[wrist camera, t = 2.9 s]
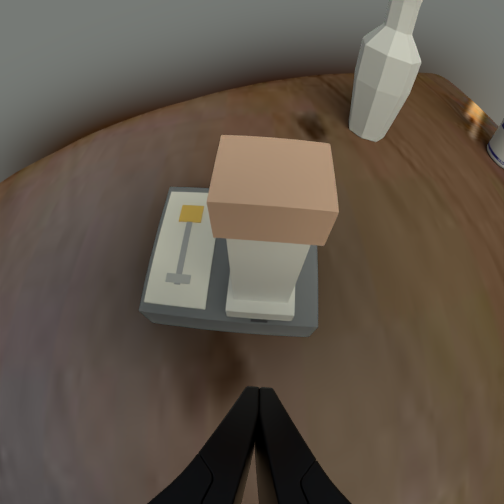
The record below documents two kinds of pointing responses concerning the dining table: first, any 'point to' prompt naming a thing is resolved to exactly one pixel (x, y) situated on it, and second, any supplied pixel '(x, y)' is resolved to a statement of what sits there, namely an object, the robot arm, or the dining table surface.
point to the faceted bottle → (385, 71)
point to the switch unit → (210, 275)
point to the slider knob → (270, 217)
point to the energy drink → (497, 146)
